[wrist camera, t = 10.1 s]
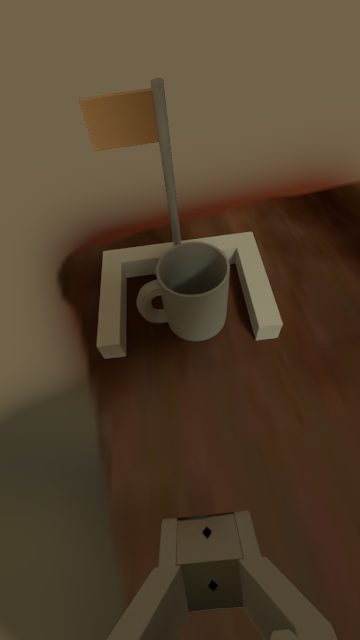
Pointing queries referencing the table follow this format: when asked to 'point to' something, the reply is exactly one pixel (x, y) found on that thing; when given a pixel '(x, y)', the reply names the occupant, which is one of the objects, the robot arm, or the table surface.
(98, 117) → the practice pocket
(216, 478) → the table surface
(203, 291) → the cup
